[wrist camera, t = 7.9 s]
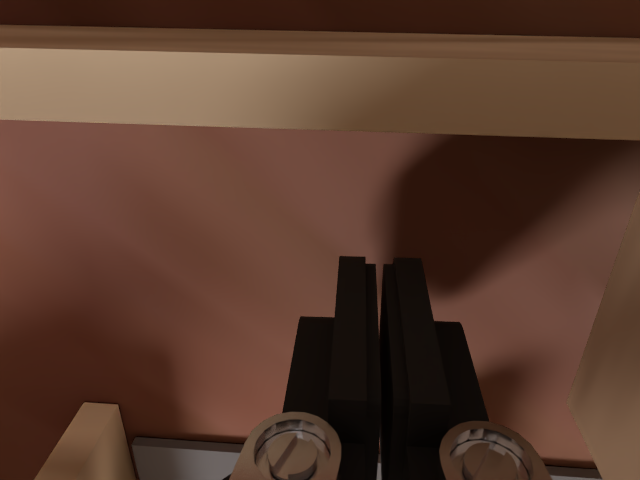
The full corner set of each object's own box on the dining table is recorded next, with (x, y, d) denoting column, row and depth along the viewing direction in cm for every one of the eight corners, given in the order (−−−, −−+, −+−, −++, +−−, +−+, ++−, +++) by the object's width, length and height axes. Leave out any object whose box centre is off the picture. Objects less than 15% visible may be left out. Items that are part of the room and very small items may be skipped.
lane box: (-25, 24, 10) (-171, 43, 7) (1237, 50, 8) (1640, 86, 6) (139, 593, 19) (103, 693, 16) (744, 648, 18) (810, 765, 15)
